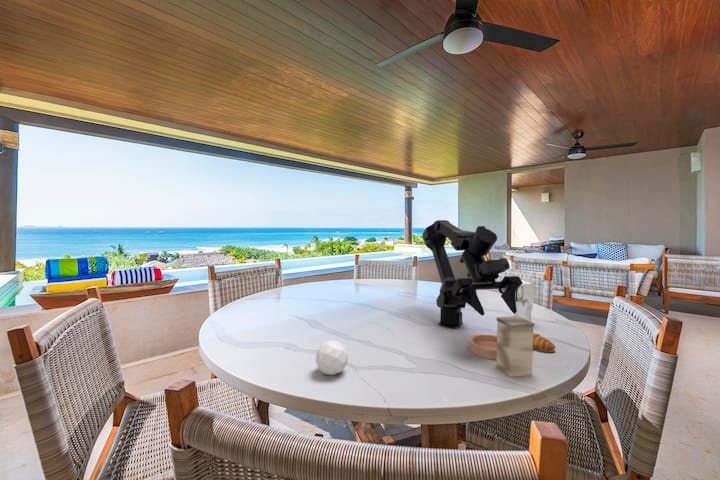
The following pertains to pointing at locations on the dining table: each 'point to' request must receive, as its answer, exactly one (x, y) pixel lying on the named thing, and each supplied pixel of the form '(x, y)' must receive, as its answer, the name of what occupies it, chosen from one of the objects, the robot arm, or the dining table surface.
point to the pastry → (542, 344)
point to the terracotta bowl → (484, 345)
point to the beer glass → (524, 300)
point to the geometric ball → (331, 357)
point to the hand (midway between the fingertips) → (499, 313)
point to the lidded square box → (514, 345)
